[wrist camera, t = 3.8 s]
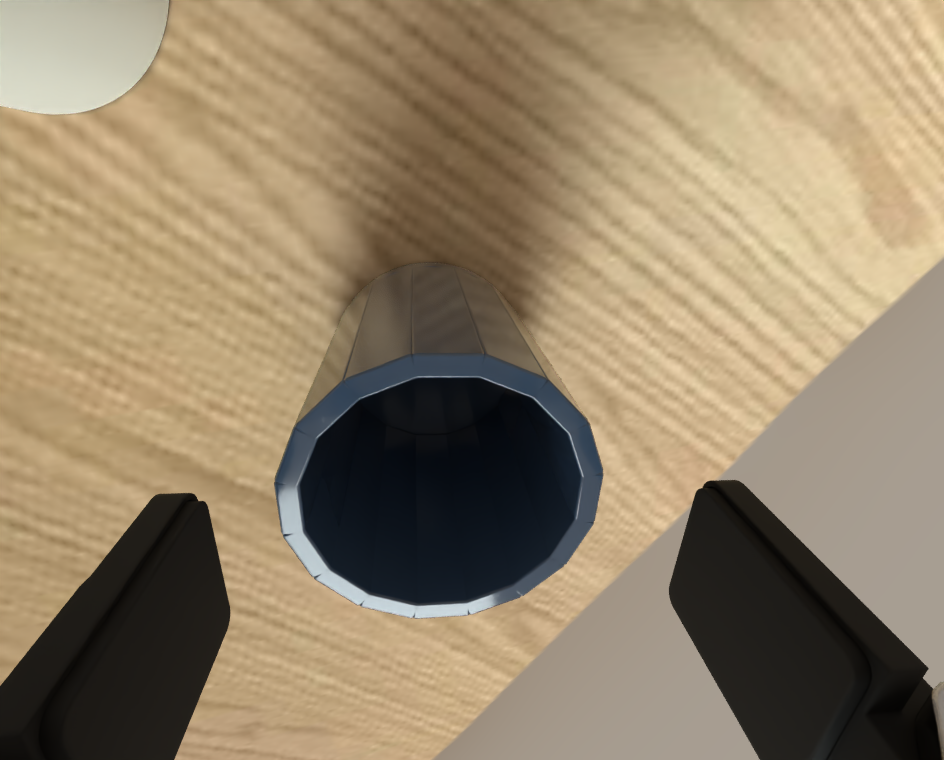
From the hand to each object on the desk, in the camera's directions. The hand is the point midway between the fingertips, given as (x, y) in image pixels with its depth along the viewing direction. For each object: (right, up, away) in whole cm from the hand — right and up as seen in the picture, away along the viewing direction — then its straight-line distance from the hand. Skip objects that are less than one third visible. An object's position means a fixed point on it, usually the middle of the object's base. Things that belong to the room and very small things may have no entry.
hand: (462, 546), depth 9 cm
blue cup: (-1, +4, +8) cm, 10 cm away
